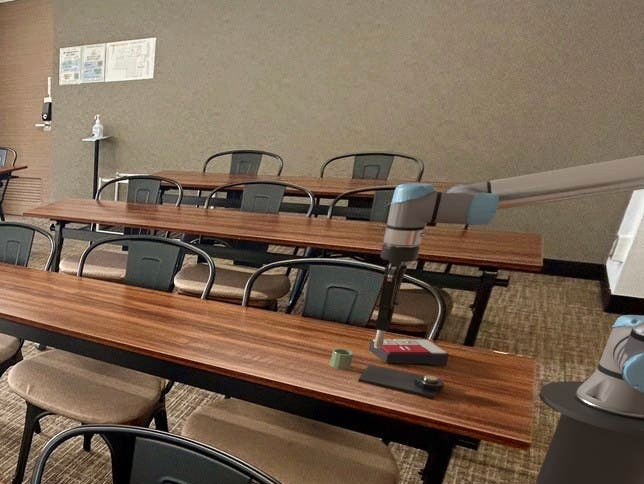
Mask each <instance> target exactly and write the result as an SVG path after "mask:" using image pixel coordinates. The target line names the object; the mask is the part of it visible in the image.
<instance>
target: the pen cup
mask: <svg viewBox="0 0 644 484" xmlns="http://www.w3.org/2000/svg"><path fill="white" fill-rule="evenodd" d="M353 358H354V352H353V351H352V350H349V349H345V348H334V349H332V353H331V357H330V362H329V366H330V367H331V368H334V369H337V370H342V371H347V370H350V369H351V367H352V363H353Z"/></svg>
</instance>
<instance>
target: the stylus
mask: <svg viewBox="0 0 644 484" xmlns="http://www.w3.org/2000/svg"><path fill="white" fill-rule="evenodd" d="M386 332H387V331H381V330H376V335H375V338H374V339H375V343H374V347H375V348H376V349H380V348H382V346H383V341H384V339H385V336H386Z"/></svg>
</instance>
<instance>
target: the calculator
mask: <svg viewBox="0 0 644 484" xmlns="http://www.w3.org/2000/svg"><path fill="white" fill-rule="evenodd" d="M375 339H376V338H373V339H370V341H369V346H368V350H369V351H371V352H372V353H373V354H374V355H376V356H377V357H378V358H379V359H380V360H381V361H383V362H384V363H386V364H428V365H429V366H447V364H448V361H449V360H448V359H449V356H450V354H449V353H448V352H446V351H445V350H444V349H442V348H440V347H439V346H438V345H436V344H435V343H433V342H431V341H430V340H429V339H412V338H393V339H392V338H384V341H383V346H382V348H380V349H376V348H375V347H374V343H375Z"/></svg>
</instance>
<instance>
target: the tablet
mask: <svg viewBox="0 0 644 484" xmlns="http://www.w3.org/2000/svg"><path fill="white" fill-rule="evenodd" d="M424 376H425V375H419V374H415V373H410V372H406V371H400V370H395V369H391V368H387V367H381V366H378V365H377V366H376V365H373V364H372V365H371V364H368V366H366V368H365V370H364V371H363V372H362V374H361V375H360V376H359V377H358V380H357V382H358V383H363V384H367V385H371V386H375V387H379V388H383V389H387V390H391V391H396V392H399V393H404V394H408V395H413V396H417V397H422V398H425V399H431V400H435V397H436V396H437V393H438V391H442V390H443V389H444V386H445V381H443V380H442V379H439V378H438V380H437V383H436V384H430V383H426V382H424V381H423V378H424Z"/></svg>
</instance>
